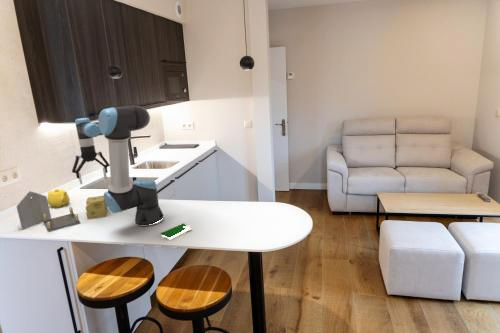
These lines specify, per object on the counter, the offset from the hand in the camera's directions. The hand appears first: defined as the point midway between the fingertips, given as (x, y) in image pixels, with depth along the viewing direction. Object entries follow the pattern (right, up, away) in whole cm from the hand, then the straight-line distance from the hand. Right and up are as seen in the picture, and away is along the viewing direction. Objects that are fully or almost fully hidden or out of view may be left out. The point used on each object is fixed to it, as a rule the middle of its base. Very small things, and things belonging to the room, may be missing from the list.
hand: (93, 181), depth 200 cm
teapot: (-30, -17, +19) cm, 39 cm away
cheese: (+3, -20, 0) cm, 20 cm away
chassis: (-13, -23, -10) cm, 28 cm away
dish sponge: (+55, -26, -30) cm, 68 cm away
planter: (-31, -24, -7) cm, 40 cm away
